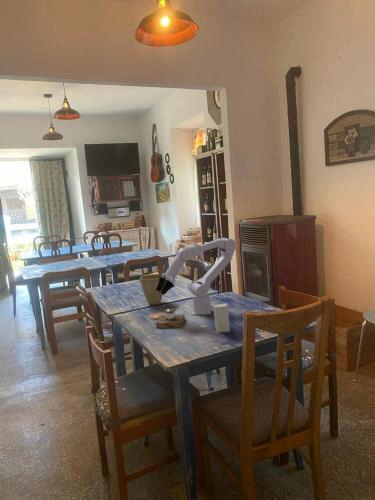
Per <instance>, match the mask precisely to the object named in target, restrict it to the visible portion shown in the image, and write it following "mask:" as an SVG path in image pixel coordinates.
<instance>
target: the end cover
mask: <svg viewBox="0 0 375 500" xmlns="http://www.w3.org/2000/svg"><path fill="white" fill-rule="evenodd" d="M164 313H165V314H166V320H175V315H176V309H175V307H174V308H172V307H170V308H165V309H164Z"/></svg>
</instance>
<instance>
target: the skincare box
mask: <svg viewBox="0 0 375 500" xmlns="http://www.w3.org/2000/svg"><path fill="white" fill-rule="evenodd" d="M213 312H214V313H213V315H214V326H215V331H216V333H217V334H219V333H227V332H231V330H230V329H231V328H230V327H231V326H230V316H229V306H228V304H227V303H221V304H213Z"/></svg>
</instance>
